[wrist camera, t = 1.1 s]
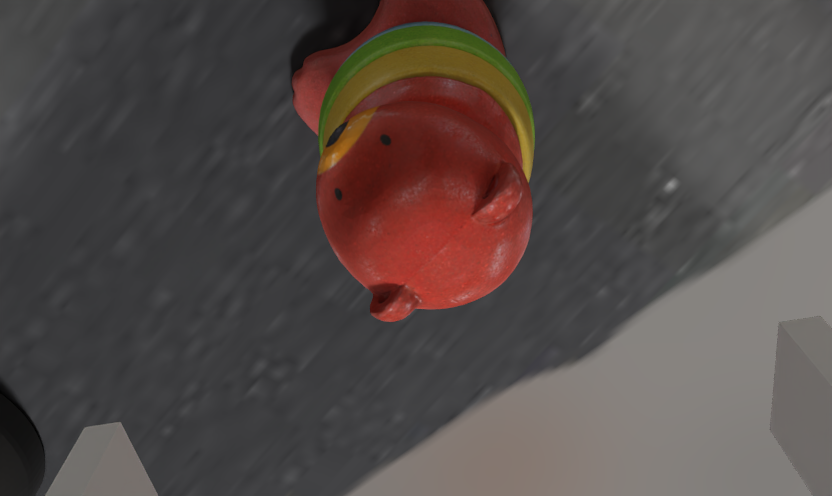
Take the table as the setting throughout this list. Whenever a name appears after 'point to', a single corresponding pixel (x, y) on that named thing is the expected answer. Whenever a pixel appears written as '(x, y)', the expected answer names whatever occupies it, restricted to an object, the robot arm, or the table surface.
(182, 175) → the table surface
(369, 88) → the stacking bear
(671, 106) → the table surface
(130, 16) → the table surface
